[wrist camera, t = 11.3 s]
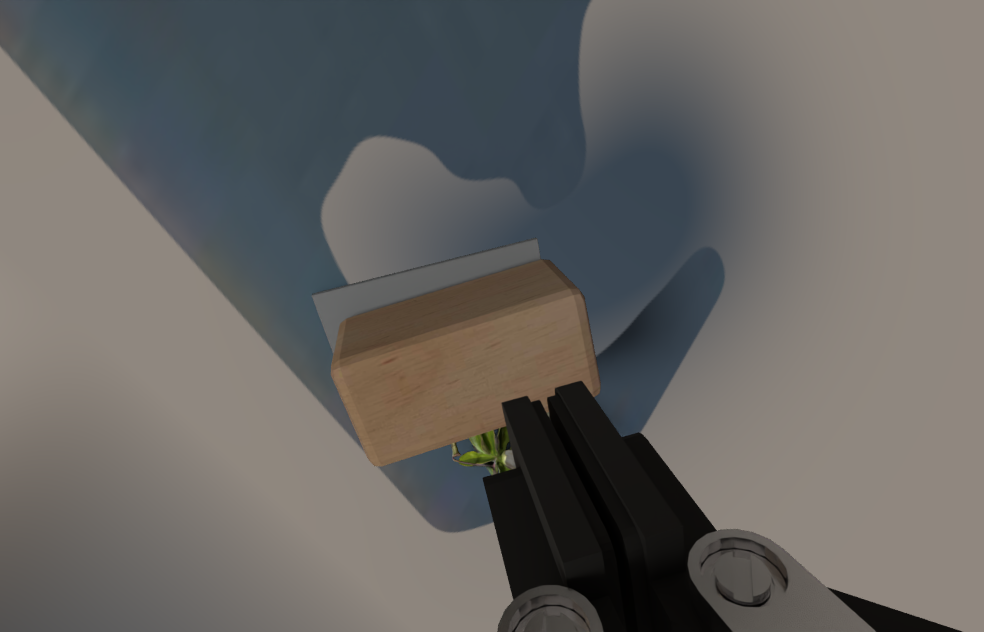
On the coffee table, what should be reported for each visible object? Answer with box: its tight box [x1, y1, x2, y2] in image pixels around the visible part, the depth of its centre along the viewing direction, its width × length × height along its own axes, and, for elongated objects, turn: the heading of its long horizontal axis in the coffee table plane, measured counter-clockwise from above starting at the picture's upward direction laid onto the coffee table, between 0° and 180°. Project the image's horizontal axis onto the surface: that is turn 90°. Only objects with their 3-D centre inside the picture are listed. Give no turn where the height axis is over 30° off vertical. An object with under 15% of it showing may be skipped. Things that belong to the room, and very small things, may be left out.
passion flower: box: [451, 412, 549, 475], centre depth 52 cm, size 11×11×12 cm
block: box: [331, 259, 601, 466], centre depth 45 cm, size 10×10×20 cm
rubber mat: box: [312, 238, 541, 354], centre depth 49 cm, size 12×20×1 cm, turn 102°
